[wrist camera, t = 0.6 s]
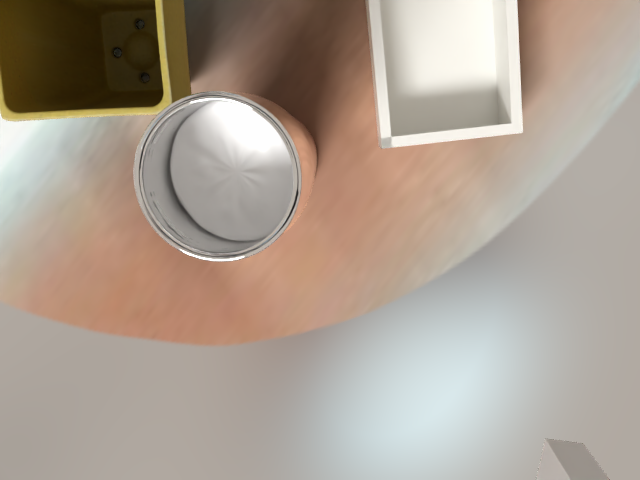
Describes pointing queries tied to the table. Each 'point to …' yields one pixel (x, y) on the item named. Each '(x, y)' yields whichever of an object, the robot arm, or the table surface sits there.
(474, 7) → the tray
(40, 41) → the flower pot
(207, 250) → the silver metal cup
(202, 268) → the table surface
